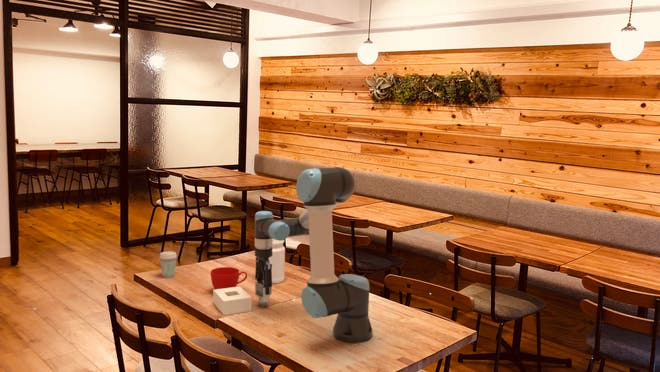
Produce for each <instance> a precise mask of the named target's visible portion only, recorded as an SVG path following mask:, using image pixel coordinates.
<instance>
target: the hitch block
mask: <svg viewBox="0 0 660 372" xmlns="http://www.w3.org/2000/svg"><path fill="white" fill-rule="evenodd" d="M212 293H213V294H212V295H213V297H212V298H213V301H212V304H213V305H214V306H216V308H217V310H219V312H220V314H222V315H223V316H228V315H235V314H242V313H247V312H252V296H251V295H249V293H247V292H246V291H245V290H244V289H243V287H241V286H236V287H231V288H224V289H216V290H215V289H213V290H212Z"/></svg>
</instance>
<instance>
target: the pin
mask: <svg viewBox="0 0 660 372" xmlns="http://www.w3.org/2000/svg"><path fill="white" fill-rule="evenodd" d="M254 285H255V289H254V290H255V291H254V292H255V296H257V295H259V297H258V306H259V307H260V308H266V307H269V302H263V286H264V281H256V282H255V283H254ZM272 288H273V286H272V287H270V296H271V295H272V291H273V290H272Z"/></svg>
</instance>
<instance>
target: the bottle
mask: <svg viewBox="0 0 660 372" xmlns="http://www.w3.org/2000/svg"><path fill="white" fill-rule="evenodd" d="M284 243H285V240H282V241H279V240H275V239H273V241H272V256H271V257H269V263H270V264H272V285H273V284H280V283H281V282H282V283H283V282H284V280H285V278H286V275H285V267H286V264H285V263H286V260H285V259H286V255H285V254H286V247H285V246H284V245H283V244H284ZM264 270H265V269H264Z"/></svg>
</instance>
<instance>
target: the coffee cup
mask: <svg viewBox="0 0 660 372" xmlns="http://www.w3.org/2000/svg"><path fill="white" fill-rule="evenodd" d="M177 257H178V255H177V253H176V252H175V251H162V252H160V253H159V257H158V258H159V261H160V269H161V276H162V278H164V279H171V278H175V275H176V264H177Z"/></svg>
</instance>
